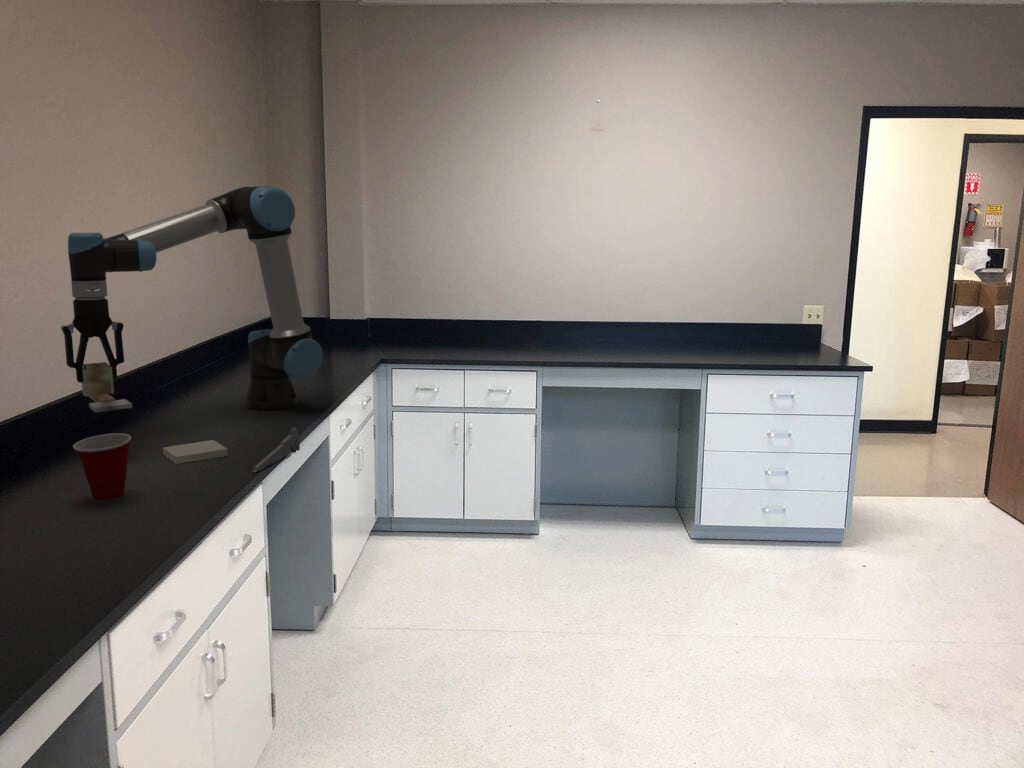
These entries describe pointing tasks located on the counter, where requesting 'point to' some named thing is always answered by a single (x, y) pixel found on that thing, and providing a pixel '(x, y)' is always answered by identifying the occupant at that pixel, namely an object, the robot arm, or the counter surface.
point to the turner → (102, 388)
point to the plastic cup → (105, 463)
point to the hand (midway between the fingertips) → (98, 393)
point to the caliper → (281, 449)
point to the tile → (195, 451)
